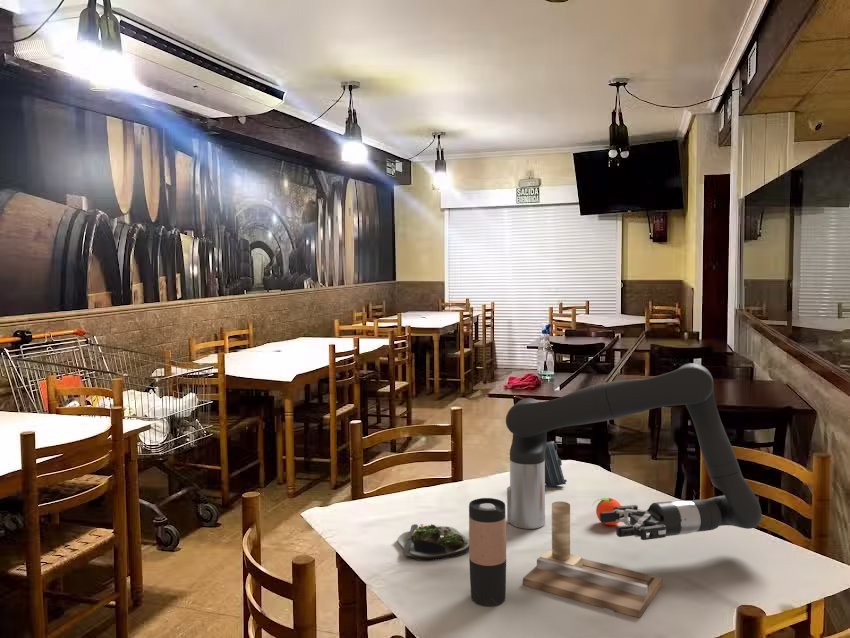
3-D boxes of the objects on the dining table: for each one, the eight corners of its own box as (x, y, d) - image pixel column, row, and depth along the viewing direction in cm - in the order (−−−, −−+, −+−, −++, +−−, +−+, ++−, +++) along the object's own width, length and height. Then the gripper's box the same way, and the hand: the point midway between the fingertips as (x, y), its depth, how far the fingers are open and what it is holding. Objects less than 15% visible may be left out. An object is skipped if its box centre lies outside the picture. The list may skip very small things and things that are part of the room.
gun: (507, 438, 210) (552, 429, 206) (521, 489, 210) (567, 481, 206) (505, 440, 208) (551, 431, 203) (519, 492, 208) (566, 483, 203)
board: (522, 584, 142) (522, 569, 142) (553, 557, 155) (553, 543, 155) (639, 618, 128) (639, 600, 128) (662, 584, 141) (662, 569, 141)
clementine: (590, 527, 173) (590, 500, 172) (593, 517, 179) (593, 492, 179) (621, 531, 170) (621, 504, 169) (624, 521, 176) (624, 495, 176)
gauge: (539, 565, 148) (539, 504, 147) (550, 556, 152) (550, 497, 151) (573, 574, 143) (573, 511, 142) (583, 564, 148) (583, 503, 147)
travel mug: (467, 590, 140) (465, 498, 139) (502, 588, 141) (501, 496, 139) (472, 608, 133) (471, 511, 131) (510, 606, 133) (509, 509, 132)
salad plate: (384, 536, 171) (383, 518, 170) (448, 525, 177) (447, 508, 176) (408, 567, 152) (407, 548, 152) (478, 554, 158) (478, 535, 158)
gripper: (657, 492, 158) (594, 497, 156) (691, 513, 144) (623, 520, 142) (657, 522, 159) (594, 528, 156) (691, 546, 145) (623, 553, 142)
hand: (608, 524), depth 149 cm, fingers open, 8 cm apart
